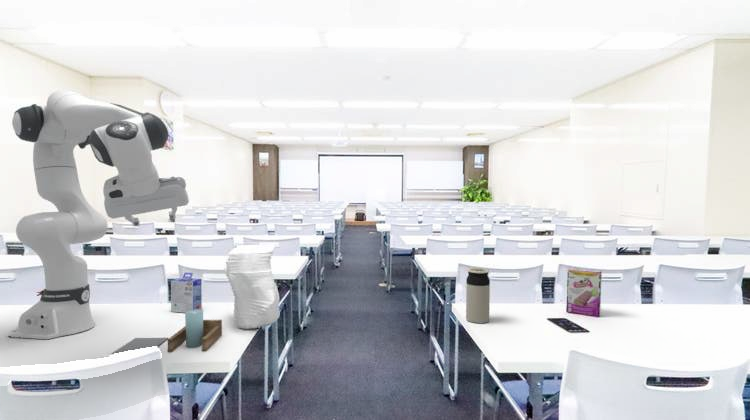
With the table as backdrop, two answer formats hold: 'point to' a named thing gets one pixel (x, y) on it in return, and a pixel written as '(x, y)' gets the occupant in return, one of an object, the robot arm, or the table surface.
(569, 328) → the smartphone
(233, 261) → the white crumpled mass
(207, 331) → the holder
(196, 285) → the ink cartridge box
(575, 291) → the candy bar box
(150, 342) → the mat
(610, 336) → the table surface
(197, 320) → the pale blue domed cylinder
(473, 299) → the travel mug
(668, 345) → the table surface
